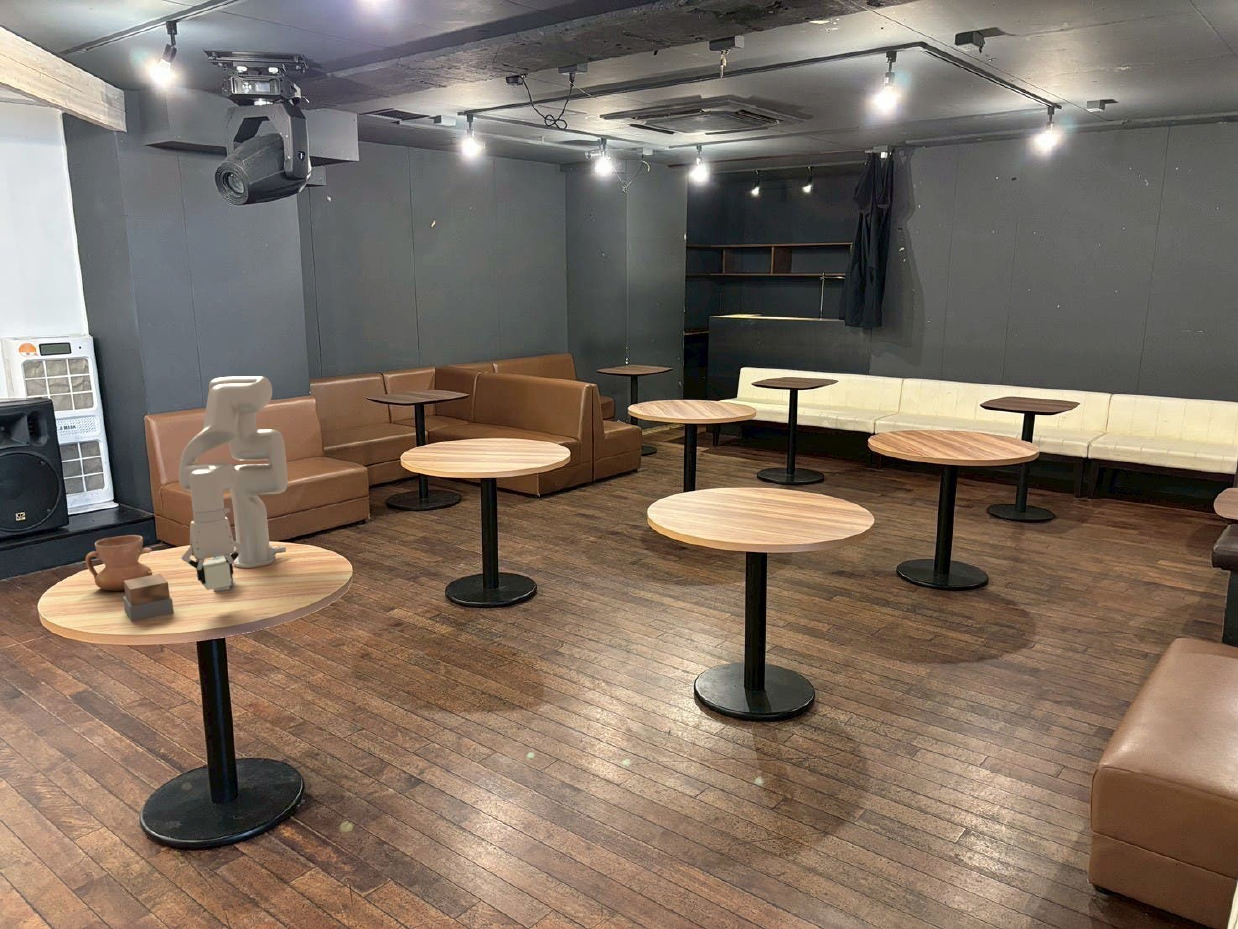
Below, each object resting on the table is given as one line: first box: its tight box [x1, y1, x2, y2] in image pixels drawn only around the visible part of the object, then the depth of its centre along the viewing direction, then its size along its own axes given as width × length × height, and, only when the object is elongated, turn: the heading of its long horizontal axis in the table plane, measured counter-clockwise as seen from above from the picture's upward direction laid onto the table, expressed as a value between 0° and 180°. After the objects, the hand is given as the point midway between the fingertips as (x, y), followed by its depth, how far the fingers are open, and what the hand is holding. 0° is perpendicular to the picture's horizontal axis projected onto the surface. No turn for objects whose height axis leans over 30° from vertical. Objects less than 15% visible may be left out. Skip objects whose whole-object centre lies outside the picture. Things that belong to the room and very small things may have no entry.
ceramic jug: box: [85, 534, 153, 592], centre depth 252 cm, size 18×14×14 cm
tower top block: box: [124, 573, 171, 606], centre depth 232 cm, size 9×9×4 cm
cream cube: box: [201, 558, 232, 591], centre depth 233 cm, size 6×6×6 cm
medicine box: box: [212, 556, 234, 592], centre depth 252 cm, size 8×4×9 cm, turn 17°
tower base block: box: [122, 594, 175, 623], centre depth 233 cm, size 10×10×4 cm
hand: (216, 579), depth 233 cm, fingers closed on cream cube, 6 cm apart
